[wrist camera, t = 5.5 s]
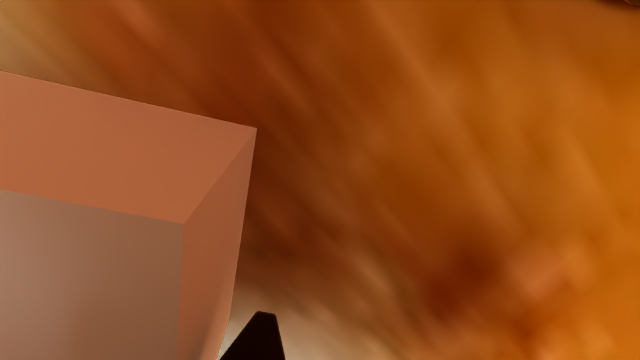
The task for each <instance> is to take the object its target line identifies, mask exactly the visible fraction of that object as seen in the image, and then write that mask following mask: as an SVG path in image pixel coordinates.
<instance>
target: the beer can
mask: <svg viewBox="0 0 640 360" xmlns="http://www.w3.org/2000/svg"><path fill="white" fill-rule="evenodd" d="M624 1H626V2H628V3H630V4H632V5H633V6H639V7H640V0H624Z"/></svg>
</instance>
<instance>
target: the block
mask: <svg viewBox="0 0 640 360" xmlns="http://www.w3.org/2000/svg"><path fill="white" fill-rule="evenodd" d="M256 133H257V128H254V127H250V126H245V125H241V124H236V123H232V122H228V121H223V120H219V119H214V118H210V117H205V116H201V115H196V114H192V113H187V112H183V111H179V110H174V109H170V108H165V107H161V106H156V105H152V104H147V103H143V102H138V101H134V100H130V99H125V98H121V97H116V96H112V95H107V94H103V93H98V92H94V91H89V90H85V89H81V88H76V87H72V86H67V85H63V84H58V83H54V82H49V81H45V80H40V79H36V78H32V77H27V76H23V75H18V74H14V73H9V72H5V71H0V360H216V359H217V356H218V353H219V350H220V347H221V344H222V341H223V338H224V335H225V332H226V329H227V326H228V323H229V317H230V310H231V303H232V296H233V290H234V283H235V276H236V269H237V262H238V255H239V249H240V242H241V235H242V228H243V221H244V215H245V208H246V201H247V194H248V187H249V180H250V174H251V167H252V160H253V153H254V146H255V140H256Z"/></svg>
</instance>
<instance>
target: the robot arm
mask: <svg viewBox="0 0 640 360" xmlns="http://www.w3.org/2000/svg"><path fill="white" fill-rule="evenodd" d="M220 360H285V355H284V350H283V346H282V341H281V336H280V332H279V327H278V322H277V318H276V315H275V314H272V313H267V312H262V311H257V312H256V313H255V314H254V316H253V317H252V318H251V319H250V321H249V322H248V323H247V325H246V326H245V327H244V329H243V330H242V331H241V332H240V334H239V335H238V336H237V338H236V339H235V340H234V342H233V343H232V344H231V345H230V347H229V348H228V349H227V351H226V352H225V353H224V355H223V356H222V357H221V359H220Z"/></svg>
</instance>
